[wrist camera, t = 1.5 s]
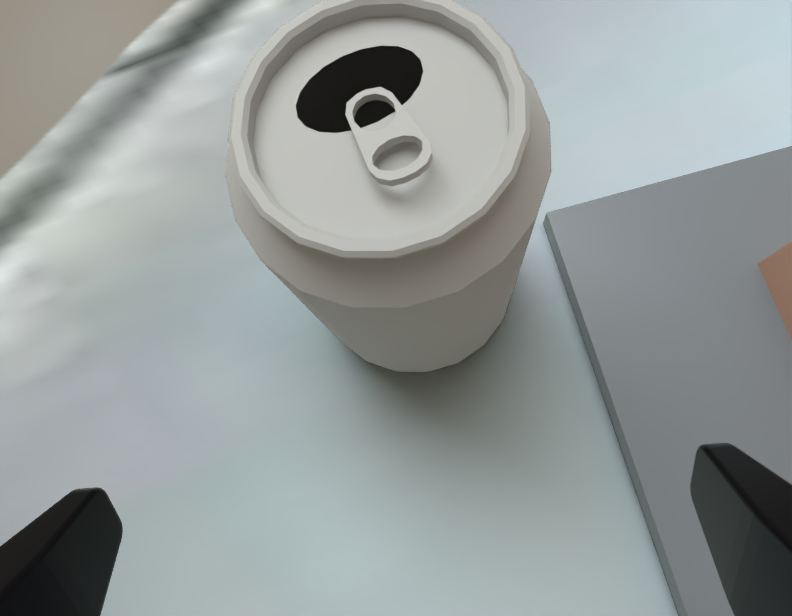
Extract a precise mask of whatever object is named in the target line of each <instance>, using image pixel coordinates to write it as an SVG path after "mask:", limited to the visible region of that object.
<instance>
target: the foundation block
mask: <svg viewBox="0 0 792 616" xmlns="http://www.w3.org/2000/svg"><path fill="white" fill-rule="evenodd" d="M758 266H759V268H760V270H761V273H762V275H763V277H764V279H765V281H766V284H767V286H768V288H769V290H770V293H771V295H772V297H773V299H774V302H775V304H776V306H777V308H778V311H779V313H780V315H781V317H782V320H783V322H784V324H785V326H786V329H787V331H788V333H789V335H790V337H791V340H792V242H790V243H788V244H787V245H785V246H784V247H782V248H781V249H779V250H778V251H776V252H775V253H773V254H772V255H770V256H769V257H767V258H766V259H764V260H763V261H761V262H759V263H758Z"/></svg>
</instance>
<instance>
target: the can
mask: <svg viewBox="0 0 792 616" xmlns="http://www.w3.org/2000/svg"><path fill="white" fill-rule="evenodd" d="M228 142H229V149H228V157H227V166H226V174H225V177H226V182H227V186H228V191H229V195H230V200H231V204H232V208H233V213H234V217H235V221H236V223H237V224H238V226H239V227H240V229H241V231H242V232H243V234H244V235H245V237H246V238H247V240H248V241H249V243H250V244H251V246H252V248H253V249H254V251H255V252H256V254H257V255H258V257H259V258H260V260H261V261H262V262H263V263H264V264H265V265H266V266H267V267H268V268H269V269H270V270H271V271H272V272H273V273H274V274H275V275H276V276H277V277H278V278H279V279H280V280H281V281H282V282H283V283H284V284H285V285H286V286H287V287H288V288H289V289H290V290H291V291H292V292H293V293H294V294H295V295H296V296H297V297H298V299H299V300H300V301H301V302H302V303H303V304H304V305H305V306H306V307H307V308H308V309H309V310H310V311H311V312H312V313H313V314H314V315H315V316H316V317H317V318H318V319H319V320H320V321H321V322H322V323H323V324H324V325H325V326H326V327H327V328H328V329H329V330H330V331H331V332H332V333H333V334H334V335H335V336H336V337H337V338H338V339H339V340H340V341H341V342H342V343H343V344H345V345H346V346H347V347H349V348H350V349H351V350H352V351H354V352H355V353H356V354H358V355H359V356H360V357H361V358H363V359H364V360H365V361H367V362H370V363H373V364H376V365H379V366H381V367H384V368H387V369H390V370H393V371H396V372H430V371H433V370H436V369H440V368H443V367H446V366H450V365H453V364H456V363H459V362H460V361H462V360H463V359H465V358H466V357H468V356H469V355H470V354H472V353H473V352H475V351H476V350H478V349H479V348H481V347H482V346H483V345H485V343H486V342H487V341H488V339H489V338H490V337H491V335H492V334H493V333H494V331H495V330H496V329H497V328H498V326H499V325H500V324H501V322H502V321H503V319H504V316H505V313H506V310H507V307H508V304H509V301H510V298H511V295H512V292H513V289H514V286H515V283H516V279H517V276H518V273H519V270H520V267H521V264H522V261H523V258H524V255H525V251H526V248H527V245H528V242H529V239H530V236H531V233H532V230H533V227H534V224H535V220H536V217H537V214H538V211H539V208H540V205H541V202H542V199H543V196H544V192H545V189H546V186H547V183H548V180H549V177H550V174H551V143H550V122H549V120H548V117H547V115H546V113H545V110H544V108H543V105H542V103H541V100H540V98H539V96H538V93H537V91H536V88H535V86H534V83H533V81H532V79H531V78H530V77H529V76H528V75H527V74H526V73H525V72H524V71H523V69H522V68H521V67H520V64H519V62H518V60H517V57H516V55H515V52H514V50H513V48H512V47H511V46H510V45H509V44H508V43H507V42H506V41H505V40H504V39H503V37H502V36H501V35H500V34H499V33H498V32H497V31H496V30H495V29H494V28H493V26H492V25H491V24H490V23H489V22H488V21H487V20H486V19H485V18H484V17H482V16H480V15H479V14H477V13H475V12H473V11H471V10H470V9H468V8H466V7H464V6H462V5H461V4H459V3H457V2H455V1H454V0H326V1H323V2H320V3H317V4H316V5H314V6H312V7H311V8H309V9H308V10H306V11H305V12H303V13H301V14H300V15H298V16H297V17H295V18H294V19H292V20H291V21H289V22H287V23H286V24H284V25H283V26H281V27H280V28H279V29H278V30H277V31H276V32H275V33H274V34H273V35H272V37H271V38H270V39H269V40H268V41H267V42H266V43H265V44H264V45H263V47H262V48H261V49H260V50H259V51H258V52H257V53H256V54H255V55H254V57H253V58H252V59H251V60H250V62H249V64H248V67H247V69H246V71H245V73H244V75H243V77H242V79H241V81H240V84H239V86H238V88H237V90H236V92H235V94H234V96H233V100H232V108H231V117H230V125H229V133H228Z"/></svg>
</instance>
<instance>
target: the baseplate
mask: <svg viewBox="0 0 792 616" xmlns="http://www.w3.org/2000/svg"><path fill="white" fill-rule="evenodd" d="M543 224H544V227H545V230H546V233H547V236H548V239H549V241H550V244H551V247H552V250H553V253H554V256H555V259H556V262H557V265H558V267H559V270H560V273H561V276H562V279H563V282H564V285H565V288H566V291H567V294H568V296H569V299H570V302H571V305H572V308H573V311H574V314H575V317H576V320H577V322H578V325H579V328H580V331H581V334H582V337H583V340H584V343H585V346H586V349H587V351H588V354H589V357H590V360H591V363H592V366H593V369H594V372H595V375H596V378H597V380H598V383H599V386H600V389H601V392H602V395H603V398H604V401H605V404H606V406H607V409H608V412H609V415H610V418H611V421H612V424H613V427H614V430H615V433H616V435H617V438H618V441H619V444H620V447H621V450H622V453H623V456H624V459H625V461H626V464H627V467H628V470H629V473H630V476H631V479H632V482H633V485H634V488H635V490H636V493H637V496H638V499H639V502H640V505H641V508H642V511H643V514H644V516H645V519H646V522H647V525H648V528H649V531H650V534H651V537H652V540H653V543H654V545H655V548H656V551H657V554H658V557H659V560H660V563H661V566H662V569H663V571H664V574H665V577H666V580H667V583H668V586H669V589H670V592H671V595H672V598H673V600H674V603H675V606H676V609H677V612H678V615H679V616H734V614H733V612H732V609H731V607H730V605H729V602H728V600H727V597H726V595H725V592H724V589H723V587H722V584H721V581H720V578H719V575H718V572H717V570H716V567H715V564H714V561H713V558H712V555H711V553H710V550H709V547H708V544H707V541H706V538H705V536H704V533H703V530H702V527H701V524H700V521H699V519H698V516H697V513H696V510H695V507H694V504H693V501H692V498H691V492H690V482H691V477H692V471H693V466H694V461H695V455H696V451H697V449H698V447H699V446H700V445H703V444H714V443H730V444H732V445H734V446H736V447H737V448H739V449H740V450H742V451H743V452H745V453H746V454H748V455H749V456H751V457H752V458H754V459H755V460H757V461H758V462H759V463H761V464H762V465H764V466H765V467H767V468H768V469H770V470H771V471H773V472H774V473H776V474H777V475H779V476H780V477H782V478H783V479H785V480H786V481H788V482H789V483H791V484H792V340H791V337H790V335H789V333H788V331H787V329H786V326H785V324H784V322H783V320H782V317H781V315H780V313H779V311H778V308H777V306H776V304H775V302H774V299H773V297H772V295H771V293H770V290H769V288H768V286H767V284H766V281H765V279H764V277H763V275H762V273H761V270H760V268H759V266H758V263H759V262H761V261H763V260H764V259H766V258H767V257H769V256H770V255H772V254H773V253H775V252H776V251H778V250H779V249H781V248H782V247H784V246H785V245H787V244H788V243H790V242H792V146H790V147H787V148H783V149H779V150H776V151H772V152H768V153H765V154H761V155H757V156H754V157H750V158H746V159H743V160H739V161H735V162H731V163H728V164H724V165H720V166H717V167H713V168H709V169H706V170H702V171H698V172H695V173H691V174H687V175H684V176H680V177H676V178H673V179H669V180H665V181H662V182H658V183H654V184H651V185H647V186H643V187H640V188H636V189H632V190H629V191H625V192H621V193H618V194H614V195H610V196H607V197H603V198H599V199H596V200H592V201H588V202H585V203H581V204H577V205H574V206H570V207H566V208H563V209H559V210H555V211H552V212H548V213H547V214H546V216H545V219H544V222H543Z"/></svg>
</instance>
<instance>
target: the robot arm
mask: <svg viewBox="0 0 792 616" xmlns="http://www.w3.org/2000/svg"><path fill="white" fill-rule="evenodd" d="M690 492H691V498H692V501H693V504H694V507H695V510H696V513H697V516H698V519H699V521H700V524H701V527H702V530H703V533H704V536H705V538H706V541H707V544H708V547H709V550H710V553H711V555H712V558H713V561H714V564H715V567H716V570H717V572H718V575H719V578H720V581H721V584H722V587H723V589H724V592H725V595H726V597H727V600H728V602H729V605H730V607H731V609H732V612H733V614H734V616H792V484H791V483H789V482H788V481H786V480H785V479H783V478H782V477H780V476H779V475H777V474H776V473H774V472H773V471H771V470H770V469H768V468H767V467H765V466H764V465H762V464H761V463H759V462H758V461H757V460H755V459H754V458H752V457H751V456H749V455H748V454H746V453H745V452H743V451H742V450H740V449H739V448H737V447H736V446H734V445H732V444H730V443H714V444H703V445H700V446H699V447H698V449H697V451H696V455H695V461H694V466H693V471H692V477H691V482H690ZM122 532H123V530H122V523H121V520H120V518H119V516H118V514H117V512H116V510H115V508H114V507H113V505H112V503H111V501H110V499H109V497H108V495H107V493H106V492H105V491H104V490H103V489H101V488H83V489H76V490H73V491H71V492H70V493H69V494H67V495H66V496H65V497H63V498H62V499H61V500H60V501H58V502H57V503H56V504H54V505H53V506H52V507H51V508H49V509H48V510H47V511H45V512H44V513H43V514H42V515H40V516H39V517H38V518H36V519H35V520H34V521H33V522H31V523H30V524H29V525H27V526H26V527H25V528H23V529H22V530H21V531H20V532H18V533H17V534H16V535H14V536H13V537H12V538H11V539H9V540H8V541H7V542H5V543H4V544H3V545H2V546H0V616H100V615H101V611H102V608H103V604H104V601H105V597H106V593H107V590H108V586H109V582H110V579H111V575H112V572H113V568H114V564H115V561H116V557H117V553H118V550H119V546H120V543H121V539H122Z"/></svg>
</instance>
